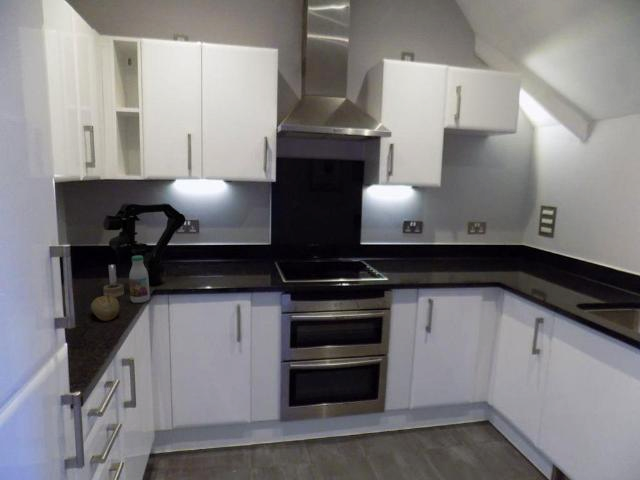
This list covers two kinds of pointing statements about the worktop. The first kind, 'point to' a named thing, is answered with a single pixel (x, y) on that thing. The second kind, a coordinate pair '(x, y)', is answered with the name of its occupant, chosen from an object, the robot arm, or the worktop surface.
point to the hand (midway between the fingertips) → (127, 262)
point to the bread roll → (105, 307)
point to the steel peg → (112, 276)
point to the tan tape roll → (114, 290)
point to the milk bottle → (139, 281)
